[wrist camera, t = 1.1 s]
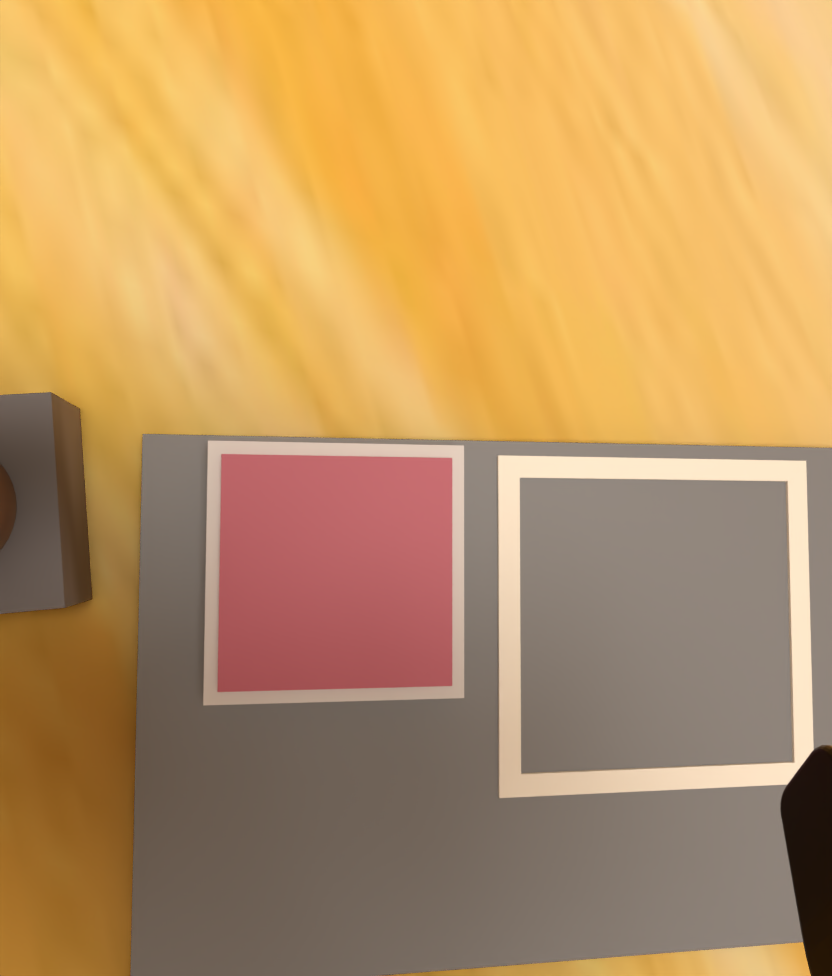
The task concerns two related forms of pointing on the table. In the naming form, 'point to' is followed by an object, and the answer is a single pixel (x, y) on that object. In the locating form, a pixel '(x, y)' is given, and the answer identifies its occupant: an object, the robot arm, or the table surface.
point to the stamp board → (471, 700)
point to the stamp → (42, 505)
